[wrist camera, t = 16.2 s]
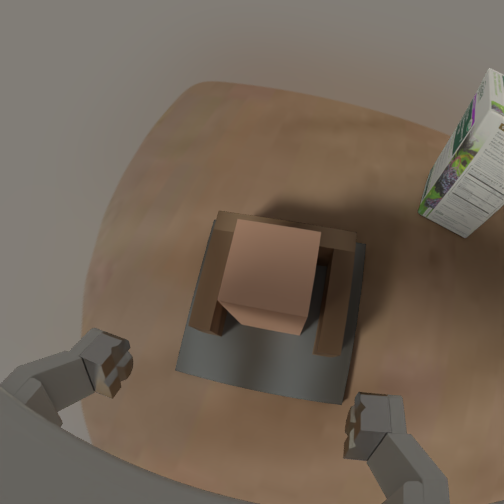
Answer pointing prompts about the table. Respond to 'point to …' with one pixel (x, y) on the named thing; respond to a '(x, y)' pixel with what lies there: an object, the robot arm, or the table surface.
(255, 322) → the block
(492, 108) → the syrup box
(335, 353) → the stop cradle
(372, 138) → the table surface
